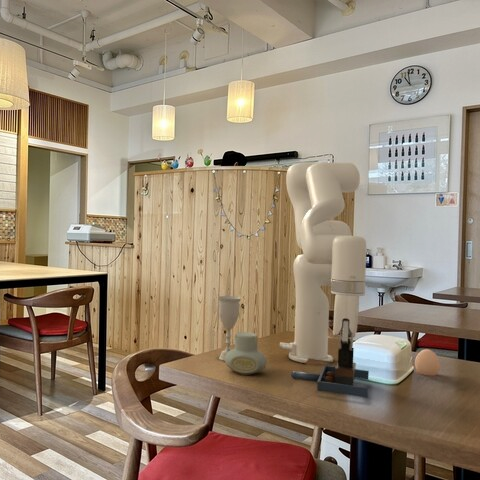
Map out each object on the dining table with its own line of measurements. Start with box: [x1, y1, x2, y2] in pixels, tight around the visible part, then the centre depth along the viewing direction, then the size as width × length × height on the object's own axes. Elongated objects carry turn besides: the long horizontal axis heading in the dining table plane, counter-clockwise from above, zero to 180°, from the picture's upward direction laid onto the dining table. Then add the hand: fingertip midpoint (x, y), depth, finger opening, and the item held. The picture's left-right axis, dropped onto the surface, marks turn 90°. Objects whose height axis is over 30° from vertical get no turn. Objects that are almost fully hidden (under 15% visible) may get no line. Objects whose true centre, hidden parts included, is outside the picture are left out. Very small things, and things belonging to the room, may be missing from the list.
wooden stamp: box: [334, 344, 357, 386], centre depth 115 cm, size 4×8×8 cm, turn 155°
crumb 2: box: [323, 376, 335, 383], centre depth 115 cm, size 3×3×3 cm
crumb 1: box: [325, 371, 335, 380], centre depth 119 cm, size 3×3×3 cm
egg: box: [414, 348, 441, 377], centre depth 127 cm, size 6×6×8 cm
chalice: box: [217, 295, 242, 362], centre depth 142 cm, size 7×7×18 cm
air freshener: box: [224, 331, 268, 376], centre depth 128 cm, size 11×8×10 cm
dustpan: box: [290, 365, 370, 399], centre depth 116 cm, size 18×16×3 cm
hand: (345, 364), depth 115 cm, fingers closed on wooden stamp, 2 cm apart
